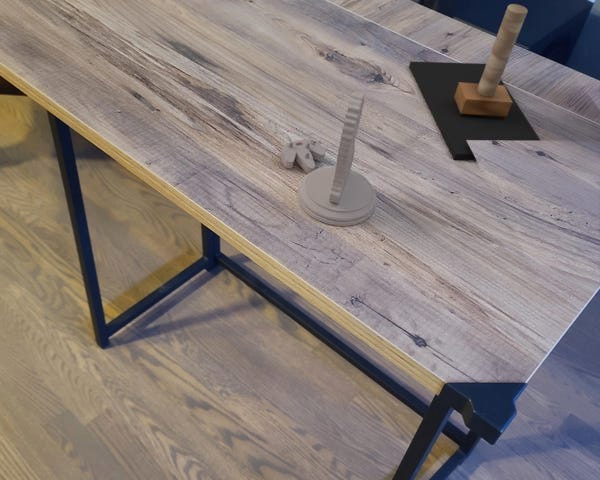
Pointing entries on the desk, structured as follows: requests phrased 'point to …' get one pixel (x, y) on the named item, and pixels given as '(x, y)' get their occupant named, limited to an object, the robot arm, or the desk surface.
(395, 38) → the desk surface
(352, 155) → the grey upright stand
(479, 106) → the wooden peg stand
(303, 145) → the game controller
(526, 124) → the notched black mat
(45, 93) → the desk surface
